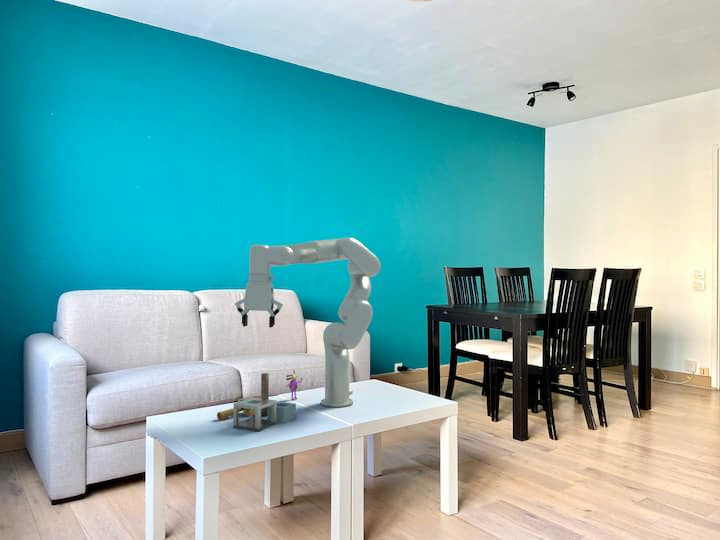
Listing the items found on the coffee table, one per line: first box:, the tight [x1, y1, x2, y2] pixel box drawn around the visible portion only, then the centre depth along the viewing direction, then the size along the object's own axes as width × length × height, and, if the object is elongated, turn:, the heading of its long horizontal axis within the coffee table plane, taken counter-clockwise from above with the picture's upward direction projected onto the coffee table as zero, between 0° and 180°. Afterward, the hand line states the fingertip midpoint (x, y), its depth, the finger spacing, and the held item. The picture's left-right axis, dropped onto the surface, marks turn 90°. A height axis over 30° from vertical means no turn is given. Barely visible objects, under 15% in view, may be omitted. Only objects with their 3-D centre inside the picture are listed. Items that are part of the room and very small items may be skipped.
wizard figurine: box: [284, 369, 303, 401], centre depth 215 cm, size 11×3×12 cm, turn 151°
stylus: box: [260, 372, 270, 418], centre depth 190 cm, size 3×3×15 cm
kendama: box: [216, 395, 261, 421], centre depth 190 cm, size 8×6×18 cm
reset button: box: [249, 410, 255, 418], centre depth 177 cm, size 4×4×2 cm
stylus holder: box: [266, 401, 297, 424], centre depth 185 cm, size 7×7×5 cm
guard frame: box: [232, 396, 278, 433], centre depth 177 cm, size 10×10×8 cm
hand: (258, 326), depth 192 cm, fingers open, 9 cm apart
